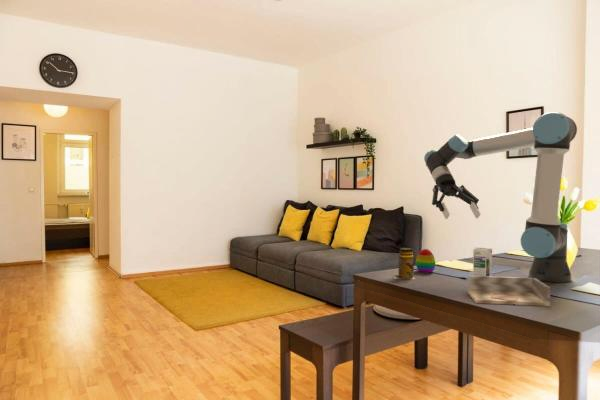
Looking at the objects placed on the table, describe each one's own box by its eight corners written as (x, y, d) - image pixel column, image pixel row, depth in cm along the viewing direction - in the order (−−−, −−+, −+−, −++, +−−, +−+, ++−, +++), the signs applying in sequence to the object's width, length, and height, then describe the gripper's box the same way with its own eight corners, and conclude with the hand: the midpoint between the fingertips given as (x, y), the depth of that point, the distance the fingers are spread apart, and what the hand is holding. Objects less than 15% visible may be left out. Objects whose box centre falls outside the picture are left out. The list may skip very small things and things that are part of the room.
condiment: (415, 279, 179) (416, 249, 179) (394, 279, 180) (394, 249, 179) (412, 275, 186) (412, 247, 186) (392, 275, 187) (392, 247, 187)
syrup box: (472, 287, 165) (472, 248, 165) (476, 284, 170) (476, 246, 170) (488, 289, 162) (489, 249, 162) (492, 286, 167) (492, 247, 167)
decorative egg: (428, 269, 200) (428, 247, 200) (439, 272, 192) (439, 249, 192) (412, 270, 198) (412, 248, 197) (422, 274, 190) (423, 250, 190)
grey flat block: (534, 295, 154) (535, 277, 153) (549, 306, 140) (550, 287, 140) (467, 292, 158) (467, 275, 157) (475, 302, 144) (476, 284, 144)
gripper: (465, 185, 197) (486, 221, 183) (413, 185, 191) (431, 223, 177) (473, 172, 192) (495, 209, 177) (420, 172, 186) (438, 210, 172)
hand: (463, 216), depth 177 cm, fingers open, 13 cm apart
